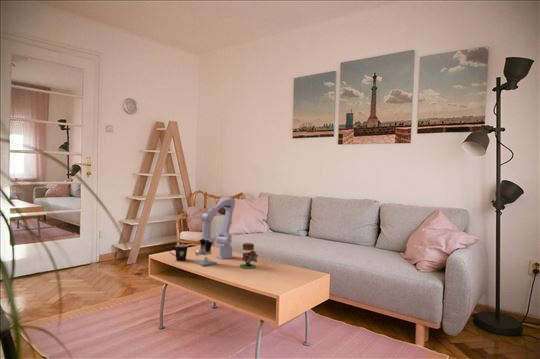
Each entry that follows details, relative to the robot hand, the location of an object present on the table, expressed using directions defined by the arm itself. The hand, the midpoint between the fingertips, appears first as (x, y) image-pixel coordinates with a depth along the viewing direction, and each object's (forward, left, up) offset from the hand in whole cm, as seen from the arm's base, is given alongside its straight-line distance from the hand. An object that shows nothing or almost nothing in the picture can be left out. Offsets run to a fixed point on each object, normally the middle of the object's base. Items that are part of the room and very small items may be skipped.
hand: (205, 251), depth 243 cm
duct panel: (0, 0, -8) cm, 8 cm away
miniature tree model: (-20, +22, -9) cm, 31 cm away
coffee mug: (+11, -18, -9) cm, 23 cm away
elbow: (+2, 0, -2) cm, 3 cm away
